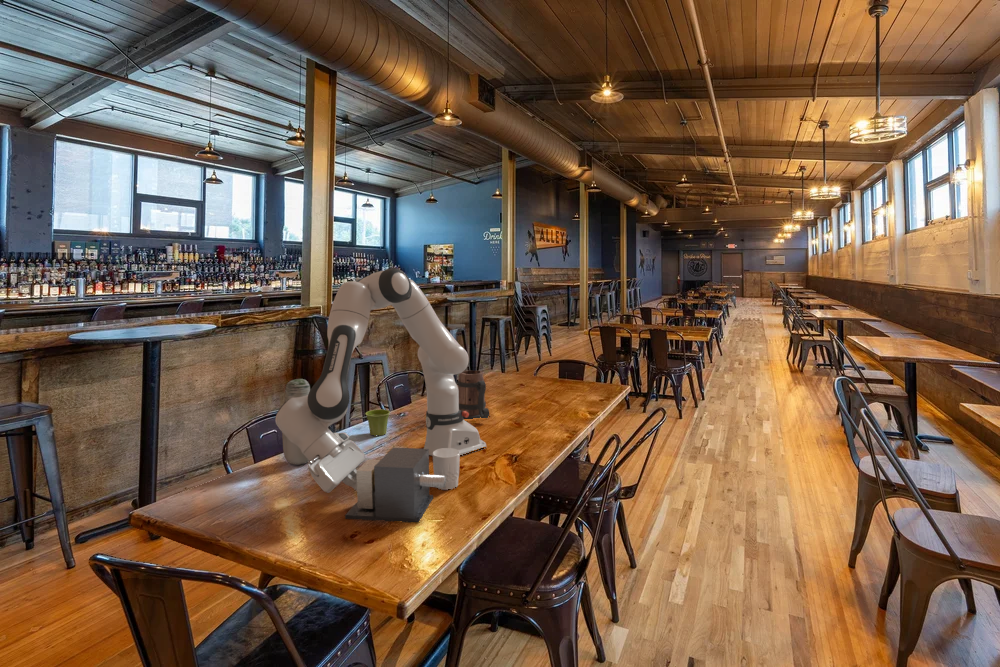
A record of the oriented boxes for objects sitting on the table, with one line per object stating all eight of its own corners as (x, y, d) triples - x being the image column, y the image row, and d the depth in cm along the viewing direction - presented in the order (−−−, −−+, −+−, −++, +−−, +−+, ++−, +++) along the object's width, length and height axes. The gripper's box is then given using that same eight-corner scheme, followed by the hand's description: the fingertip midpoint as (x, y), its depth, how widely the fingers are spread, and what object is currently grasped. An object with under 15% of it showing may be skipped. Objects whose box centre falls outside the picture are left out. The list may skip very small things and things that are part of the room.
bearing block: (345, 518, 124) (343, 465, 123) (366, 495, 138) (365, 446, 136) (418, 522, 122) (417, 468, 120) (433, 498, 136) (432, 449, 134)
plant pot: (394, 431, 197) (394, 410, 196) (384, 438, 188) (383, 416, 187) (373, 429, 199) (372, 408, 198) (361, 436, 190) (360, 415, 189)
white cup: (433, 480, 148) (433, 448, 147) (460, 479, 148) (459, 447, 147) (432, 491, 140) (431, 457, 139) (460, 490, 141) (459, 456, 140)
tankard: (446, 414, 222) (445, 370, 220) (479, 409, 230) (479, 367, 228) (468, 427, 202) (468, 379, 200) (504, 421, 210) (504, 375, 208)
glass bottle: (298, 470, 156) (294, 383, 153) (277, 465, 161) (273, 380, 158) (323, 460, 165) (320, 378, 162) (302, 455, 170) (299, 375, 167)
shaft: (357, 508, 127) (356, 470, 126) (369, 494, 135) (368, 459, 134) (441, 512, 124) (440, 474, 123) (448, 498, 132) (447, 462, 131)
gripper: (312, 455, 120) (352, 496, 120) (348, 430, 140) (382, 465, 140) (296, 472, 121) (335, 513, 121) (334, 445, 141) (367, 479, 141)
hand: (361, 487), depth 130 cm, fingers closed, pressing on shaft
